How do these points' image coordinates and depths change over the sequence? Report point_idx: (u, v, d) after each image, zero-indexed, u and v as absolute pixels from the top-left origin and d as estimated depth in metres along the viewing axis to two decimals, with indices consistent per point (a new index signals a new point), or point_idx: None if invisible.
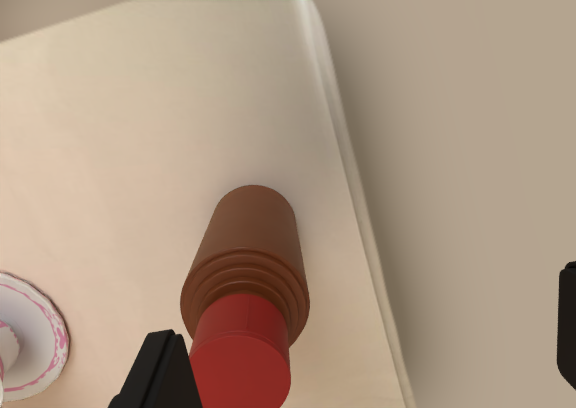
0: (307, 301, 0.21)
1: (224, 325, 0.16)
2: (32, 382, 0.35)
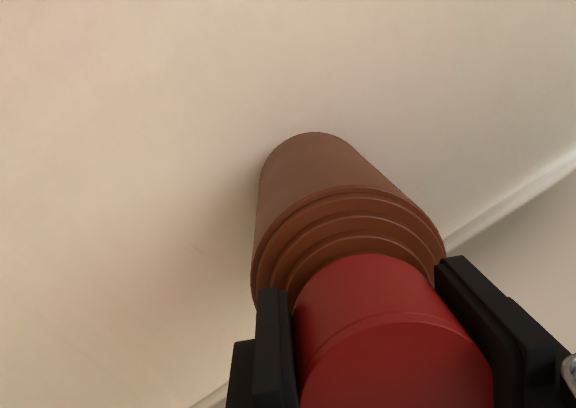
0: None
1: (468, 335, 0.09)
2: None
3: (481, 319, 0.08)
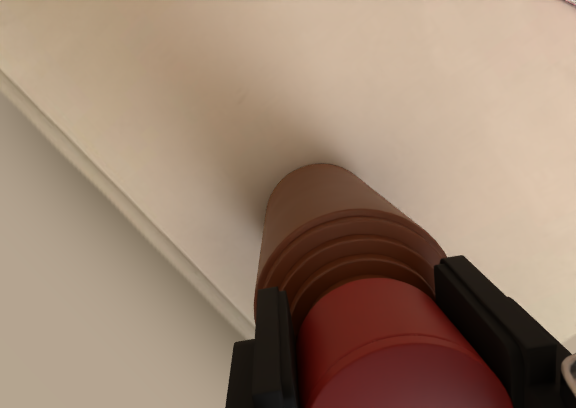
0: None
1: None
2: None
3: (481, 319, 0.08)
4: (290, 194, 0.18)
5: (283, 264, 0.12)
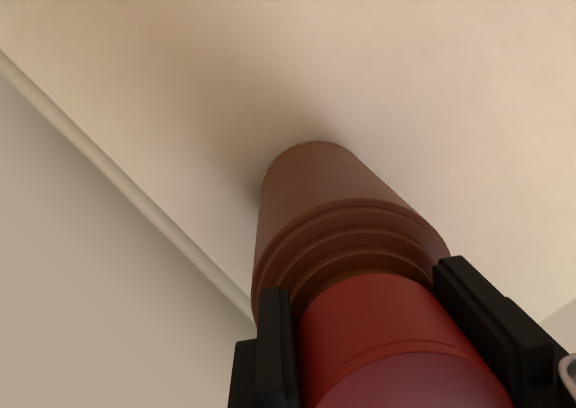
0: None
1: None
2: None
3: (479, 319, 0.08)
4: (286, 176, 0.18)
5: (280, 255, 0.12)
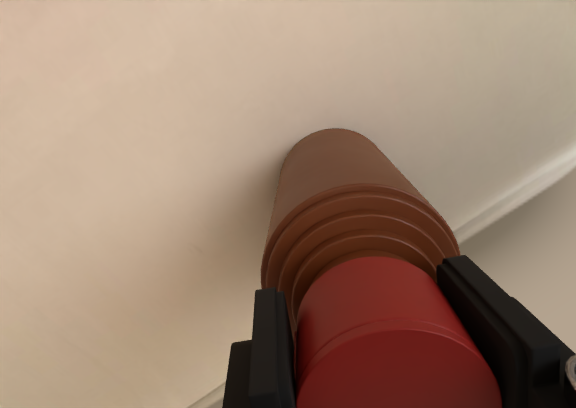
0: None
1: None
2: None
3: (485, 319, 0.08)
4: None
5: None
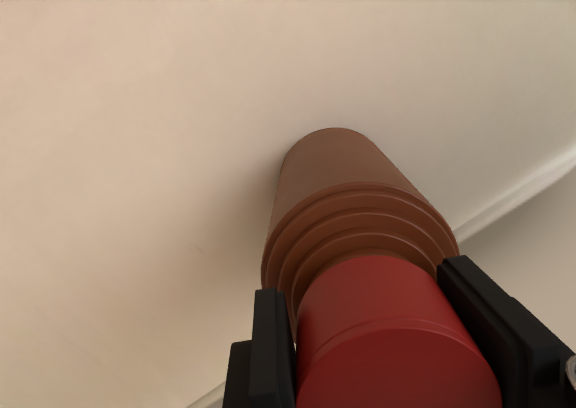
0: None
1: None
2: None
3: (485, 319, 0.08)
4: None
5: None
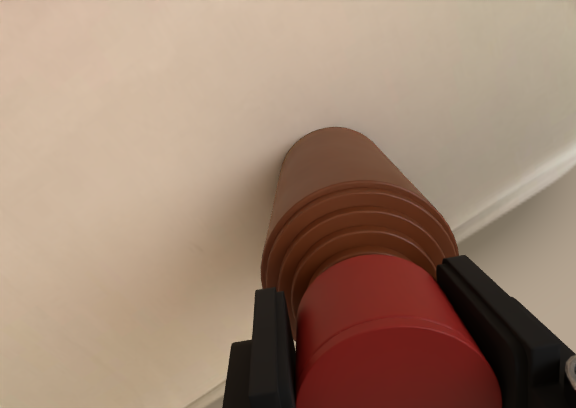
0: None
1: None
2: None
3: (484, 319, 0.08)
4: None
5: None
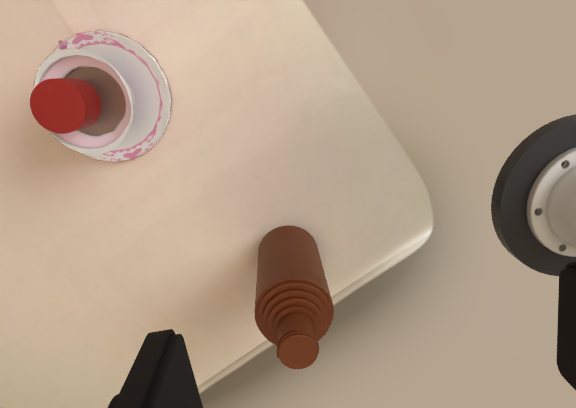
0: None
1: (84, 92, 0.32)
2: None
3: None
4: None
5: (273, 341, 0.34)
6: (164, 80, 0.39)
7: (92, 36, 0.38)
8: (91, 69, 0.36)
